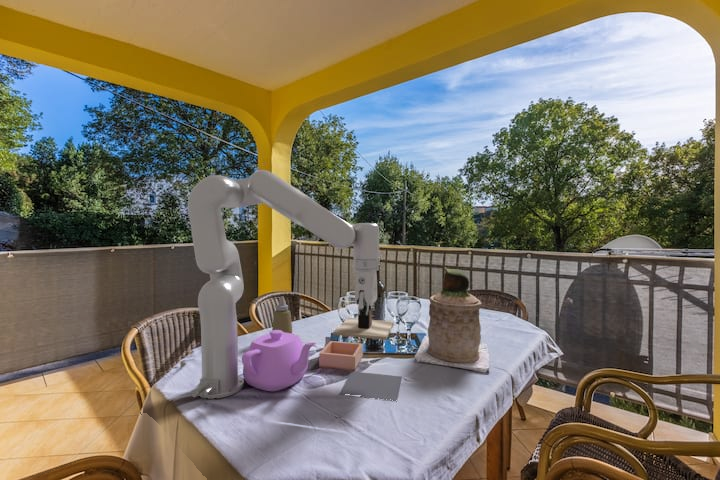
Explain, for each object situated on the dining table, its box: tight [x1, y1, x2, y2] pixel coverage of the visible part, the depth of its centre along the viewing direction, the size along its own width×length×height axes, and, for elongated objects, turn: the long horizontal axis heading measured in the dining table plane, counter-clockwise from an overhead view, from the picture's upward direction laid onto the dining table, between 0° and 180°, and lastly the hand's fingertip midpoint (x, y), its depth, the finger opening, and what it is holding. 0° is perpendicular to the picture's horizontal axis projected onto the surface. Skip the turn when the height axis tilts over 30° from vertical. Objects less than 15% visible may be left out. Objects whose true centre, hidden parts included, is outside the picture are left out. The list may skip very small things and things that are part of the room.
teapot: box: [241, 330, 317, 392], centre depth 98 cm, size 23×21×15 cm
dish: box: [318, 340, 364, 372], centre depth 114 cm, size 12×12×5 cm
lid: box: [332, 308, 395, 341], centre depth 100 cm, size 15×15×6 cm
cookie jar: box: [414, 266, 491, 374], centre depth 121 cm, size 25×25×32 cm
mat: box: [338, 371, 403, 403], centre depth 98 cm, size 15×16×1 cm
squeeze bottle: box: [271, 295, 293, 334], centre depth 135 cm, size 8×8×18 cm
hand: (365, 325), depth 100 cm, fingers closed on lid, 3 cm apart
